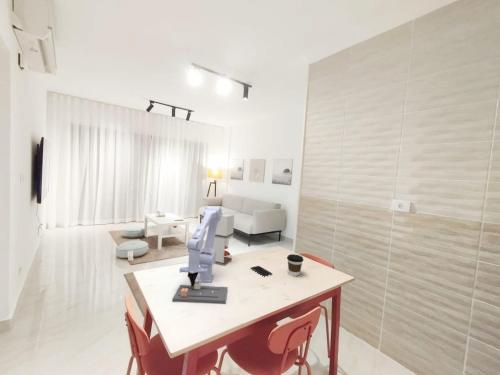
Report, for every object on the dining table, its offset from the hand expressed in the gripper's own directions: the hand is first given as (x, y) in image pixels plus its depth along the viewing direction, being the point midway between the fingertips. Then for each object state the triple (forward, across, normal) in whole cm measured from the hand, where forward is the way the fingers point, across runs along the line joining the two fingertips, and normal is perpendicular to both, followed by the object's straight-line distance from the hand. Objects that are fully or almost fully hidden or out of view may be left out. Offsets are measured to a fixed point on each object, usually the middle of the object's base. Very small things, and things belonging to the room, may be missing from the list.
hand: (192, 285), depth 122 cm
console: (+3, +6, -4) cm, 7 cm away
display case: (+3, +11, +44) cm, 45 cm away
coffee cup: (+3, +62, +28) cm, 68 cm away
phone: (+3, +39, +30) cm, 49 cm away
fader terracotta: (+1, -2, -8) cm, 8 cm away
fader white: (+1, +3, 0) cm, 3 cm away
